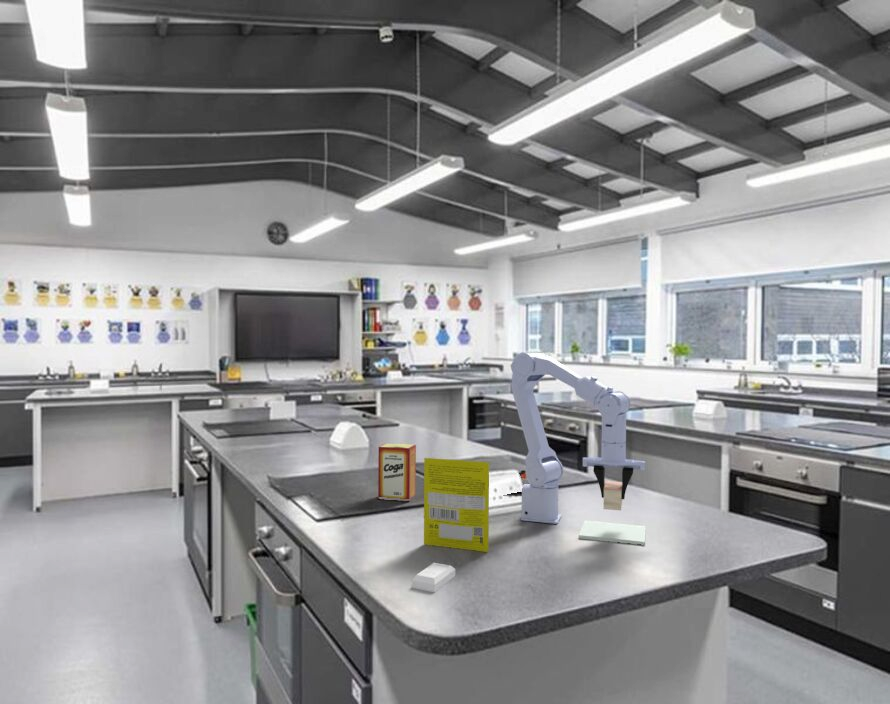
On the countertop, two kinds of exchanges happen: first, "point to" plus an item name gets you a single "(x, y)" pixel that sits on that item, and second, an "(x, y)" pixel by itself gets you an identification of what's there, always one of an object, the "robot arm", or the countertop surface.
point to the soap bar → (433, 577)
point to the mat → (613, 532)
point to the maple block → (613, 495)
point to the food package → (456, 504)
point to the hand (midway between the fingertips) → (613, 497)
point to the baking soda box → (397, 471)
